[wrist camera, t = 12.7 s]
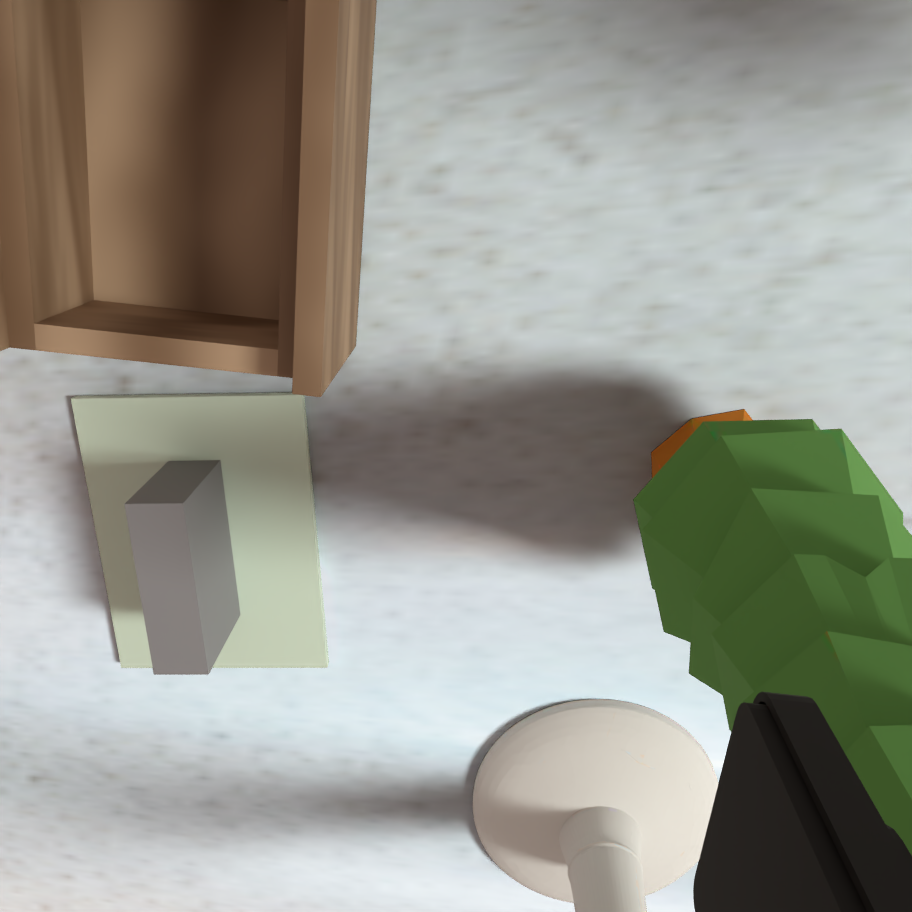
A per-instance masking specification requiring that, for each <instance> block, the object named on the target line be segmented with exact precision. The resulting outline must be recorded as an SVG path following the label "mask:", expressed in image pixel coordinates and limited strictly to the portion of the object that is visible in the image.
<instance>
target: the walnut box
mask: <svg viewBox="0 0 912 912" xmlns="http://www.w3.org/2000/svg"><path fill="white" fill-rule="evenodd" d="M376 2H377V0H0V351H2V350H4V349H6V348H9V347H11V348H20V349H29V350H38V351H48V352H57V353H66V354H76V355H85V356H94V357H103V358H113V359H122V360H131V361H141V362H150V363H159V364H168V365H178V366H187V367H196V368H205V369H215V370H224V371H233V372H243V373H252V374H261V375H270V376H280V377H289V378H293V385H292V394H297V395H306V396H316V397H321V396H322V395H323V393H324V392H325V390H326V389H327V387H328V386H329V384H330V383H331V381H332V380H333V378H334V377H335V376H336V374H337V373H338V371H339V370H340V368H341V367H342V365H343V364H344V362H345V361H346V360H347V358H348V357H349V355H350V354H351V352H352V351H353V349H354V348H355V346H356V335H357V318H358V302H359V285H360V268H361V252H362V235H363V218H364V202H365V185H366V168H367V152H368V135H369V118H370V102H371V85H372V68H373V52H374V35H375V18H376Z"/></svg>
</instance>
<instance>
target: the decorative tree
mask: <svg viewBox="0 0 912 912" xmlns="http://www.w3.org/2000/svg"><path fill="white" fill-rule="evenodd" d="M651 461H652V479H651V480H650V481H649V483H648V484H647V485H646V486H645V487H644V488H643V489H642V490H641V491H640V493H639V494H638V495H637V496H636V497H635V498H634V499H633V501H634V505H635V510H636V515H637V519H638V524H639V529H640V533H641V538H642V543H643V547H644V552H645V557H646V561H647V566H648V571H649V575H650V580H651V585H652V588H653V589H654V590H655V592H656V597H657V602H658V607H659V611H660V616H661V621H662V625H663V630H664V632H666V633H668V634H671V635H673V636H676V637H678V638H681V639H683V640H686V641H688V642H691V646H690V663H689V674H691V675H692V676H694V677H695V678H697V679H698V680H700V681H702V682H703V683H705V684H706V685H708V686H709V687H711V688H712V689H714V690H716V691H717V692H719V693H720V694H722V695H723V698H724V704H725V709H726V714H727V719H728V724H729V730H730V731H731V732H732V728H733V724H734V721H735V717H736V713H737V710H738V707H739V706H740V704H741V703H743V702H746V703H753V701H754V699H755V697H756V696H757V694H758V693H760V692H771V693H780V694H789V695H798V696H807V697H810V698H812V699H813V700H814V701H815V702H816V704H817V705H818V707H819V709H820V711H821V712H822V714H823V716H824V718H825V719H826V721H827V723H828V724H829V726H830V728H831V730H832V731H833V733H834V735H835V737H836V738H837V740H838V742H839V744H840V745H841V747H842V749H843V751H844V752H845V754H846V756H847V758H848V759H849V761H850V763H851V765H852V766H853V768H854V770H855V772H856V773H857V775H858V777H859V779H860V780H861V782H862V784H863V786H864V787H865V789H866V791H867V793H868V794H869V796H870V798H871V800H872V801H873V803H874V805H875V807H876V808H877V810H878V812H879V814H880V815H881V817H882V819H883V821H884V822H885V824H886V825H888V826H890V827H891V828H893V829H894V830H895V831H896V832H897V834H898V835H899V836H900V838H901V839H902V840H903V842H904V844H905V845H906V847H907V849H908V850H909V852H910V854H911V856H912V535H911V534H910V533H909V532H908V530H907V529H906V528H905V527H904V526H903V512H902V511H901V510H900V508H899V507H898V505H897V504H896V503H895V501H894V500H893V499H892V497H891V496H890V495H889V493H888V492H887V490H886V489H885V488H884V486H883V485H882V484H881V482H880V481H879V480H878V478H877V477H876V475H875V474H874V473H873V471H872V470H871V469H870V467H869V466H868V464H867V463H866V462H865V460H864V459H863V458H862V456H861V455H860V454H859V452H858V451H857V449H856V448H855V447H854V445H853V444H852V443H851V441H850V440H849V439H848V437H847V436H846V434H845V433H844V432H843V430H842V429H829V430H820V429H819V428H818V426H817V425H816V424H815V422H814V421H813V420H812V419H798V420H752V419H751V417H750V416H749V415H748V413H747V412H746V411H745V410H744V409H743V410H737V411H732V412H726V413H721V414H715V415H710V416H704V417H698V418H693V419H691V420H689V421H688V422H687V423H686V424H685V425H684V426H682V427H681V428H680V429H679V430H678V431H676V432H675V433H674V434H673V435H672V436H670V437H669V438H668V439H667V440H666V441H664V442H663V443H662V444H661V445H660V446H658V447H657V448H656V449H655V450H654V451H652V452H651Z"/></svg>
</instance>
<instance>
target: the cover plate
mask: <svg viewBox="0 0 912 912" xmlns="http://www.w3.org/2000/svg"><path fill="white" fill-rule="evenodd" d="M71 403H72V408H73V414H74V419H75V424H76V430H77V435H78V440H79V446H80V451H81V456H82V462H83V467H84V472H85V478H86V483H87V488H88V494H89V499H90V504H91V509H92V515H93V520H94V525H95V531H96V536H97V541H98V547H99V552H100V557H101V563H102V568H103V573H104V579H105V584H106V589H107V595H108V600H109V605H110V611H111V616H112V621H113V627H114V632H115V637H116V642H117V648H118V653H119V658H120V664H121V668H153V672H154V674H209V673H210V671H211V669H212V668H327V667H328V663H329V657H328V647H327V636H326V625H325V614H324V603H323V593H322V582H321V571H320V560H319V549H318V538H317V528H316V517H315V506H314V495H313V484H312V474H311V463H310V452H309V441H308V430H307V419H306V409H305V398H304V395H297V394H292V392H276V393H215V394H154V395H94V396H75V397H73V398H71Z"/></svg>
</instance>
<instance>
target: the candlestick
mask: <svg viewBox="0 0 912 912" xmlns="http://www.w3.org/2000/svg"><path fill="white" fill-rule="evenodd" d="M717 787H718V780H717V777H716V774H715V771H714V769H713V766H712V763H711V761H710V759H709V757H708V756H707V754H706V752H705V751H704V749H703V748H702V746H701V745H700V744H699V742H698V741H697V740H696V739H695V738H694V737H693V736H692V735H691V734H690V733H689V732H688V731H687V730H686V729H685V728H683V727H682V726H681V725H679V724H678V723H677V722H675V721H674V720H672V719H670V718H669V717H667V716H665V715H663V714H661V713H659V712H657V711H655V710H652V709H650V708H647V707H644V706H641V705H637V704H634V703H629V702H624V701H618V700H608V699H588V700H577V701H571V702H566V703H561V704H558V705H554V706H551V707H548V708H545V709H543V710H540V711H538V712H536V713H534V714H532V715H530V716H528V717H526V718H524V719H523V720H521V721H519V722H518V723H516V724H515V725H513V726H512V727H511V728H510V729H508V730H507V731H506V732H505V733H504V734H503V735H502V736H501V737H500V738H499V739H498V740H497V741H496V742H495V743H494V744H493V745H492V747H491V748H490V750H489V751H488V752H487V754H486V755H485V757H484V759H483V761H482V763H481V765H480V767H479V770H478V772H477V776H476V779H475V783H474V790H473V816H474V822H475V826H476V830H477V833H478V835H479V838H480V840H481V842H482V844H483V846H484V848H485V850H486V851H487V853H488V854H489V856H490V857H491V858H492V860H493V861H494V862H495V863H496V864H497V865H498V866H499V867H500V868H501V869H502V870H503V871H504V872H505V873H506V874H507V875H509V876H510V877H511V878H512V879H514V880H515V881H517V882H518V883H520V884H522V885H523V886H525V887H527V888H529V889H531V890H533V891H535V892H537V893H540V894H542V895H545V896H548V897H551V898H554V899H557V900H561V901H566V902H571V903H574V906H575V912H647V908H646V901H645V896H646V895H649V894H652V893H654V892H656V891H658V890H660V889H662V888H664V887H666V886H668V885H669V884H671V883H673V882H674V881H676V880H677V879H678V878H680V877H681V876H683V875H684V874H685V873H686V872H687V871H689V870H690V869H691V868H692V867H693V866H694V865H695V864H696V863H697V861H698V860H699V858H700V854H701V850H702V847H703V843H704V839H705V835H706V831H707V827H708V823H709V819H710V815H711V811H712V807H713V803H714V799H715V795H716V791H717Z"/></svg>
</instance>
